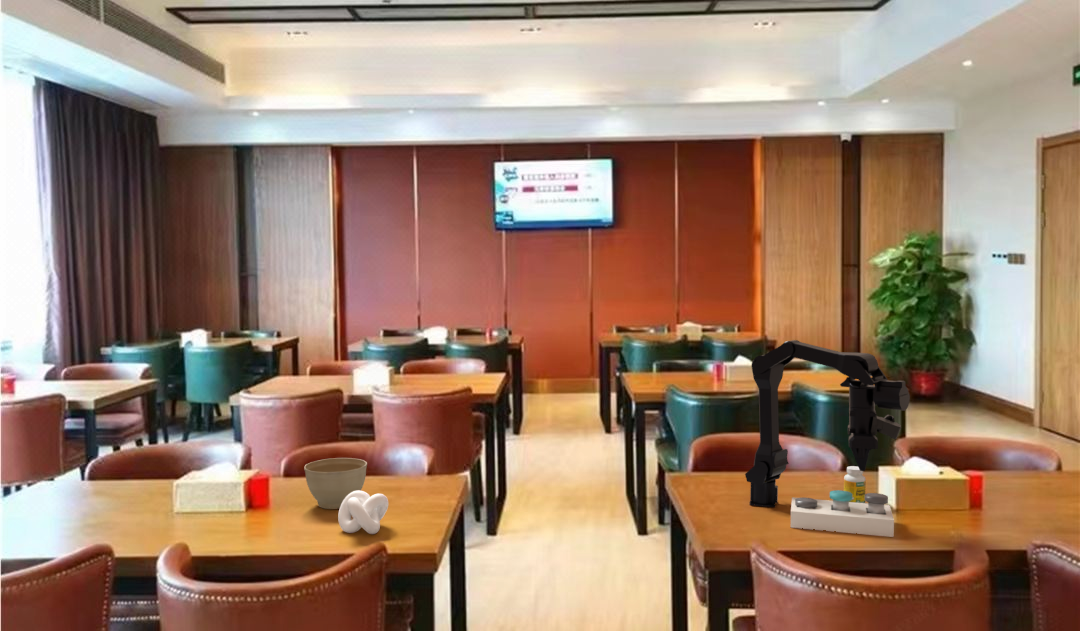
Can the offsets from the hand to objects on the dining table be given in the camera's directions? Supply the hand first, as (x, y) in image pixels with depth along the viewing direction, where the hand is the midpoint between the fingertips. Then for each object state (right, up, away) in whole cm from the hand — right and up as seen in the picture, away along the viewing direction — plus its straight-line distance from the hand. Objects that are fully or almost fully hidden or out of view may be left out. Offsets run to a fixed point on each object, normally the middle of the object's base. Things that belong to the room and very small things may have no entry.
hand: (862, 470), depth 200 cm
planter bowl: (-132, -13, +22) cm, 134 cm away
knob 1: (-12, -12, +5) cm, 18 cm away
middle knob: (-4, -10, +3) cm, 11 cm away
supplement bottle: (+5, -13, +20) cm, 24 cm away
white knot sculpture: (-120, -15, 0) cm, 121 cm away
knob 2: (+3, -10, 0) cm, 10 cm away
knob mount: (-4, -14, +3) cm, 15 cm away
